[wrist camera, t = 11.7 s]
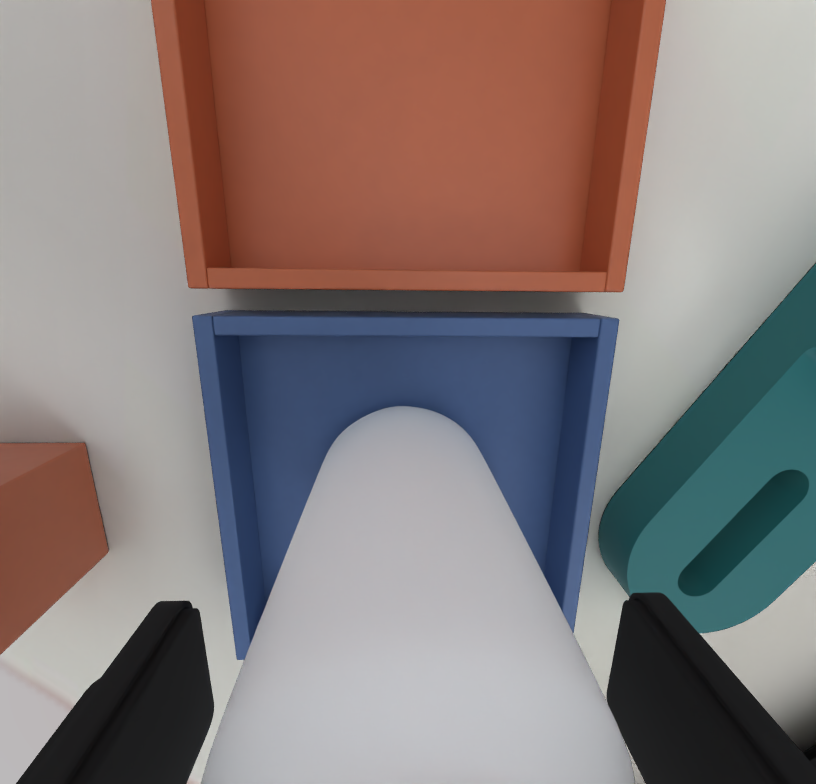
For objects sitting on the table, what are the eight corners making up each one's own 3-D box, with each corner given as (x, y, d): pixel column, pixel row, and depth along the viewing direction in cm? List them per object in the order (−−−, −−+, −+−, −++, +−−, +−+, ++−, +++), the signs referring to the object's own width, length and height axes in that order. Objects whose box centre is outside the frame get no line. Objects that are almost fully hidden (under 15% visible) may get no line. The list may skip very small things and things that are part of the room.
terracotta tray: (222, 287, 14) (187, 288, 12) (167, -219, 11) (102, -362, 8) (586, 290, 15) (624, 292, 12) (646, -194, 11) (714, -323, 9)
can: (457, 379, 15) (671, 711, 3) (503, 522, 17) (750, 1070, 5) (295, 433, 15) (-7, 901, 4) (356, 568, 17) (275, 1179, 5)
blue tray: (257, 610, 18) (236, 660, 16) (224, 310, 15) (191, 316, 12) (548, 604, 18) (571, 653, 16) (584, 312, 15) (620, 318, 13)
